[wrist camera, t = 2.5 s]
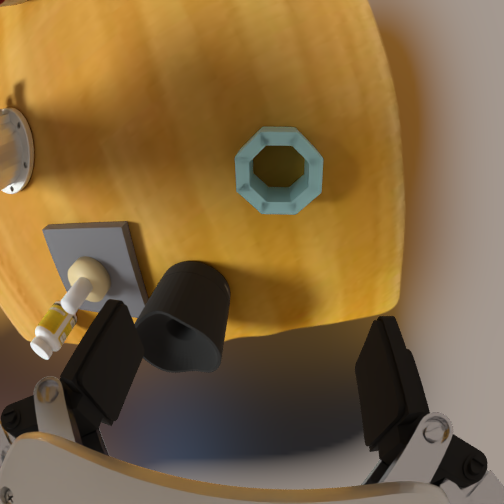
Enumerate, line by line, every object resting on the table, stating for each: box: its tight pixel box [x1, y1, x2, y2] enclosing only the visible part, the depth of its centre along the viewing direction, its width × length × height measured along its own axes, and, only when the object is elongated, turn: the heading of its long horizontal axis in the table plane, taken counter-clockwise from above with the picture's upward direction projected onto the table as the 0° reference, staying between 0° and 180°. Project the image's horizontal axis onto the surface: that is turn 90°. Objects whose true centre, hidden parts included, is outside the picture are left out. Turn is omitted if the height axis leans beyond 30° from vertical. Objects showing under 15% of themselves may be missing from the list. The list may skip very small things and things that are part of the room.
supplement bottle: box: [30, 301, 77, 360], centre depth 36 cm, size 5×5×10 cm
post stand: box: [42, 221, 149, 318], centre depth 31 cm, size 14×14×8 cm
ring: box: [235, 127, 323, 215], centre depth 23 cm, size 7×7×4 cm
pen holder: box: [134, 261, 230, 372], centre depth 30 cm, size 9×9×10 cm
